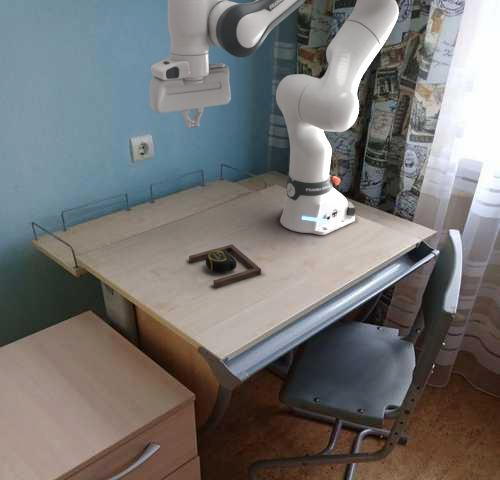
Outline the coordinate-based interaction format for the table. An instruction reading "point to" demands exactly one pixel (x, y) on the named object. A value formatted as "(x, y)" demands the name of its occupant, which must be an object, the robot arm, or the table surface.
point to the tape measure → (220, 261)
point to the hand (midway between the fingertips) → (192, 126)
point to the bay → (235, 277)
